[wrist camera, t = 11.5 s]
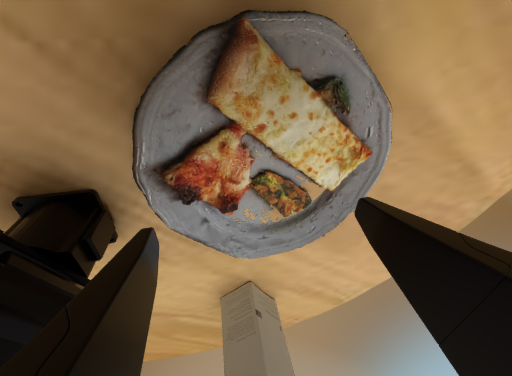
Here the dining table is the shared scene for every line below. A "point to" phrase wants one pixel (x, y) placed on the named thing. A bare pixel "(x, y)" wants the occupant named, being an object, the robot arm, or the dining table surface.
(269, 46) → the food plate
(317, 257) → the dining table surface
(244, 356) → the skincare box
